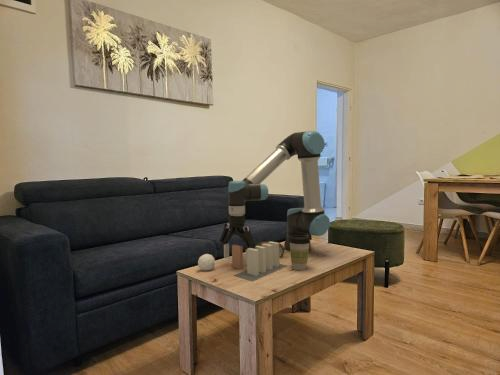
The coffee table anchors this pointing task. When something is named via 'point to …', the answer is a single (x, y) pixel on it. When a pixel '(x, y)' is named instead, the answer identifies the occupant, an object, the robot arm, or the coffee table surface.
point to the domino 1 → (237, 256)
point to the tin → (281, 248)
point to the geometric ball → (206, 262)
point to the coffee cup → (299, 251)
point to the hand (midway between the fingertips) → (237, 260)
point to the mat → (252, 277)
